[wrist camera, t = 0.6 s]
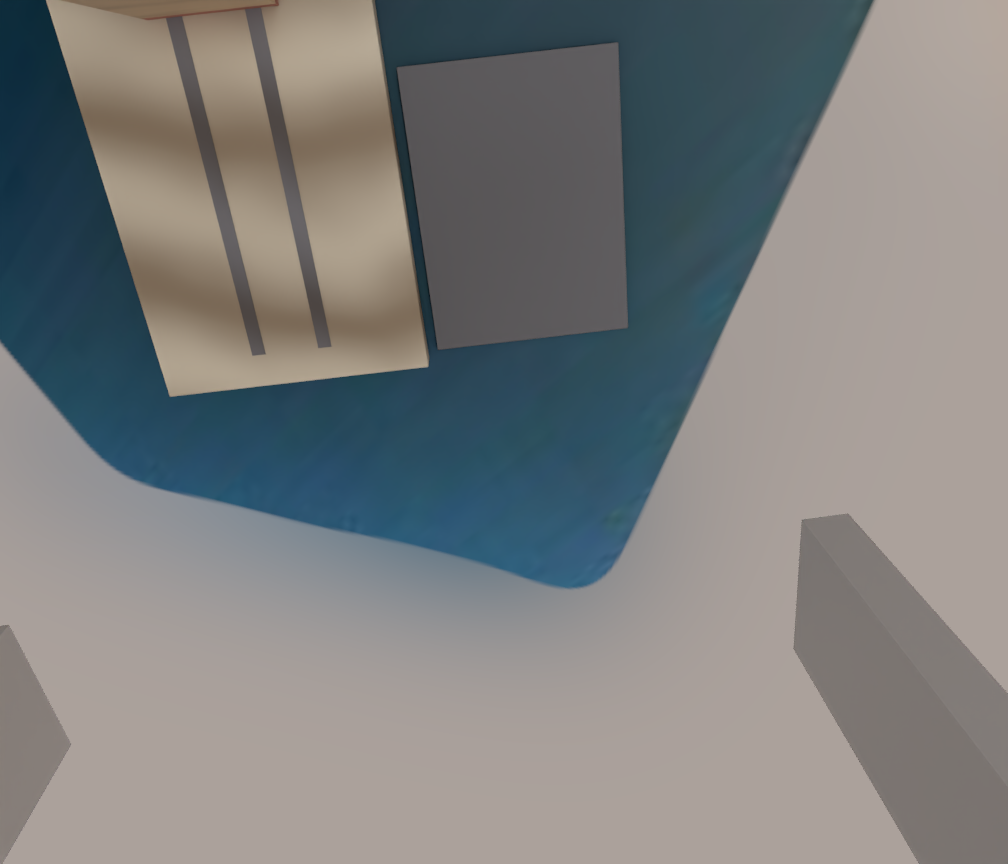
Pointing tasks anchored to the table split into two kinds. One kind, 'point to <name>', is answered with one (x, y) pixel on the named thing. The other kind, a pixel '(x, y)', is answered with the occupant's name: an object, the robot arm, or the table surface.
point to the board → (253, 188)
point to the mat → (519, 193)
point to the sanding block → (171, 6)
